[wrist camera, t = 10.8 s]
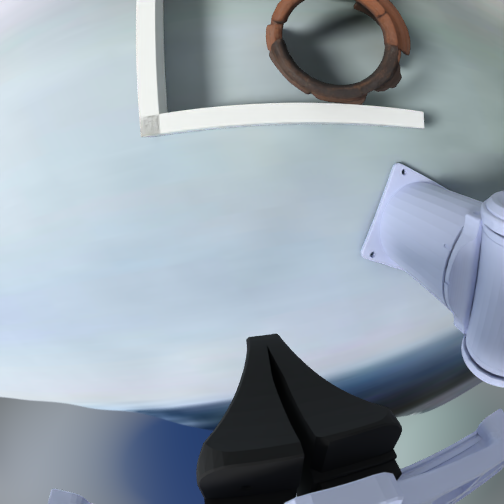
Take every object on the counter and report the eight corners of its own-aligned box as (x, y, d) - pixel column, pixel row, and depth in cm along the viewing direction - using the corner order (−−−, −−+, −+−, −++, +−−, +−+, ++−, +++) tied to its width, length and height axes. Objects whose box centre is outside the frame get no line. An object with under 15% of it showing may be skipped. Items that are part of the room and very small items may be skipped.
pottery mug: (403, 98, 20) (420, 119, 14) (290, 93, 23) (258, 112, 17) (391, -36, 12) (400, -72, 6) (273, -34, 16) (232, -62, 10)
